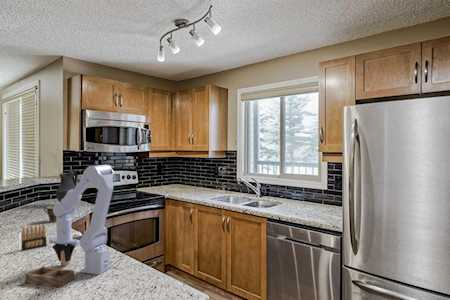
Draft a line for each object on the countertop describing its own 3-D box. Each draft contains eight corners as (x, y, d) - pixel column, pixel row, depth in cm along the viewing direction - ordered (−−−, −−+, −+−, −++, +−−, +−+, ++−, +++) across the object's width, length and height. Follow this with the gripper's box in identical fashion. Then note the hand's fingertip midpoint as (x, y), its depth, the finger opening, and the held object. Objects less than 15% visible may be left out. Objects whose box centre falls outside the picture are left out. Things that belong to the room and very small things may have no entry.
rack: (75, 277, 117) (75, 270, 117) (59, 287, 109) (59, 279, 109) (42, 273, 121) (42, 266, 121) (24, 282, 113) (24, 274, 113)
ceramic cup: (66, 219, 208) (66, 205, 208) (57, 223, 198) (57, 208, 198) (49, 219, 210) (49, 205, 210) (39, 223, 200) (39, 208, 200)
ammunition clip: (46, 245, 156) (45, 222, 155) (46, 246, 154) (46, 223, 154) (21, 250, 149) (20, 226, 148) (21, 251, 147) (21, 227, 147)
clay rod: (70, 264, 131) (70, 250, 131) (65, 266, 128) (64, 252, 128) (64, 263, 132) (64, 249, 131) (59, 266, 129) (59, 252, 129)
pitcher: (51, 207, 248) (50, 172, 247) (68, 203, 268) (68, 169, 268) (70, 208, 245) (69, 172, 244) (86, 203, 265) (85, 170, 265)
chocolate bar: (69, 242, 159) (65, 233, 173) (69, 243, 159) (65, 235, 174) (88, 238, 164) (82, 231, 179) (88, 240, 164) (82, 232, 179)
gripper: (84, 228, 131) (85, 258, 132) (57, 226, 135) (58, 255, 135) (72, 232, 125) (73, 265, 125) (44, 230, 128) (45, 261, 129)
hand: (64, 260), depth 130 cm, fingers closed on clay rod, 3 cm apart
